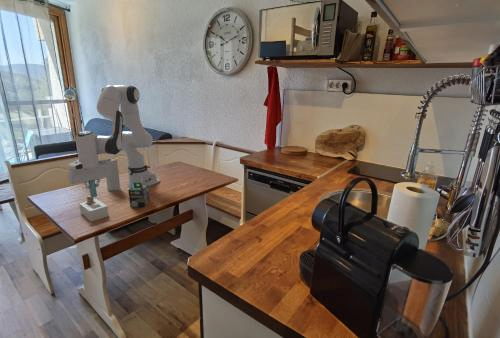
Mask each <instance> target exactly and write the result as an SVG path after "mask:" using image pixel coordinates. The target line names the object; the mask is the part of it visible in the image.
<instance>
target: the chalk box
mask: <svg viewBox="0 0 500 338" xmlns="http://www.w3.org/2000/svg"><path fill="white" fill-rule="evenodd" d="M136 184H139V185H136ZM149 188H150V187H149V186H148V185H142V183H134V185H133V186H132V187H129V189H128V190H127V191H128V198H129V199H128V200H129V206H130V208H146V207H147V206H148V205H149V203H150V201H151V199H150V190H149Z"/></svg>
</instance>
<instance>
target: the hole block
mask: <svg viewBox="0 0 500 338" xmlns="http://www.w3.org/2000/svg"><path fill="white" fill-rule="evenodd" d="M93 201H94V204H92V205H88V203H87V201H84V202H80V203H79V204H78V205H79V211H80V214H81V215H82V216H84V217H85V218H86V219H88V220H89V221H90V222H94V221H97V220H100V219H103V218H105V217H106V218H107V217H108V216H109V215H110V214H109V209H108V205H106V204H105V203H103V202H102V201H100V200H99V199H97V198H93Z"/></svg>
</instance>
